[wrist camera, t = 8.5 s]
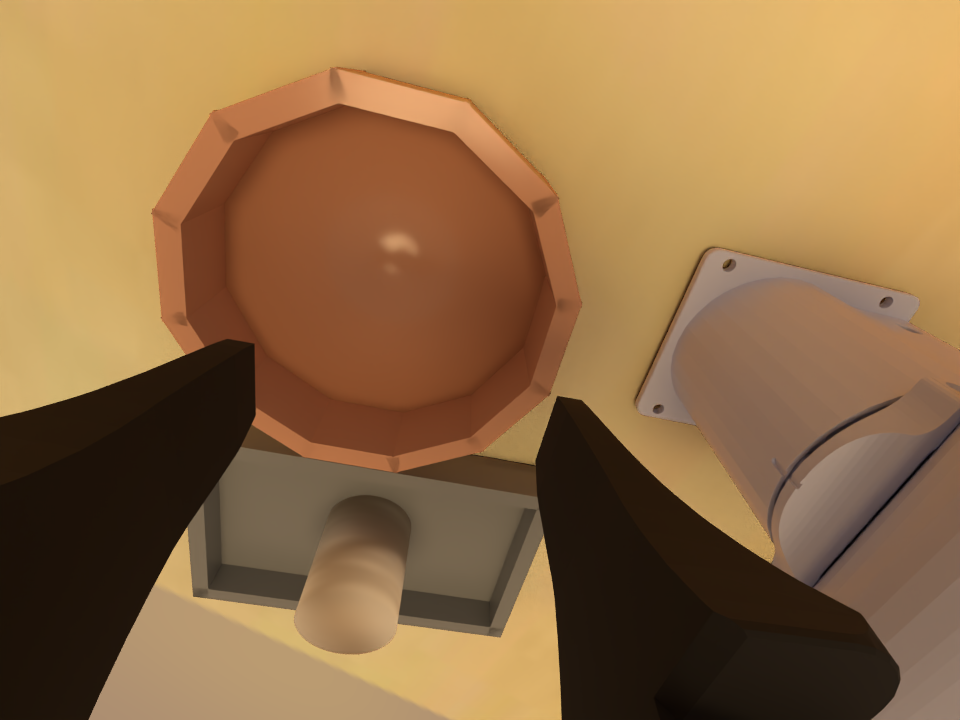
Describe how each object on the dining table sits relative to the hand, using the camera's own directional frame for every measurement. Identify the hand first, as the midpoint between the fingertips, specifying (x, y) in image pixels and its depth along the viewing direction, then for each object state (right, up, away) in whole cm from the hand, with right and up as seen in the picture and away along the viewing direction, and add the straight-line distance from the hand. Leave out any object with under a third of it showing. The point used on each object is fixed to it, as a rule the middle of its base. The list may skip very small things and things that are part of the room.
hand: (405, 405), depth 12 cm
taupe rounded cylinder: (-4, -8, +14) cm, 17 cm away
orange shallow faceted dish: (-2, +5, +8) cm, 10 cm away
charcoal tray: (-4, -7, +15) cm, 17 cm away
